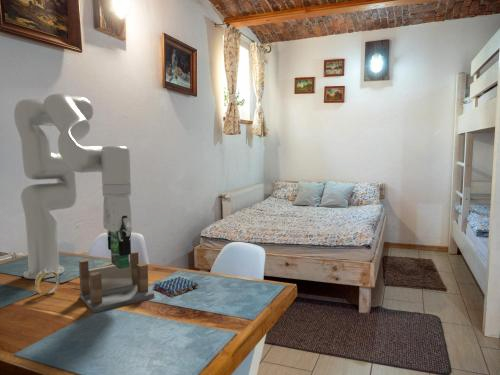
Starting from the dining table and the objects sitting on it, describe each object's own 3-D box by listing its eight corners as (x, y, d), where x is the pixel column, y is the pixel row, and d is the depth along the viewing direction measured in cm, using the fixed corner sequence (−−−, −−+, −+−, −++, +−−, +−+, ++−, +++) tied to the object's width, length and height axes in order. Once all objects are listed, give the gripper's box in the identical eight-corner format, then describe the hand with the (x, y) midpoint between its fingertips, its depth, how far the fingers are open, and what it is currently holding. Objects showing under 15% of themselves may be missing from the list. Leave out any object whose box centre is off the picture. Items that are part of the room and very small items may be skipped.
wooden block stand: (79, 297, 111) (77, 260, 110) (135, 284, 122) (134, 250, 121) (94, 312, 100) (92, 271, 99) (154, 297, 111) (153, 260, 110)
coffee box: (110, 263, 110) (108, 218, 109) (120, 261, 112) (118, 217, 111) (119, 269, 104) (117, 222, 102) (129, 267, 105) (128, 221, 104)
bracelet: (38, 298, 110) (37, 271, 110) (33, 296, 112) (32, 269, 112) (62, 291, 116) (61, 266, 115) (57, 289, 118) (56, 264, 117)
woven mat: (151, 290, 118) (151, 283, 118) (179, 281, 126) (179, 275, 126) (171, 298, 111) (171, 292, 111) (199, 289, 119) (199, 282, 119)
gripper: (93, 189, 110) (96, 248, 112) (114, 193, 97) (117, 260, 98) (119, 187, 115) (121, 244, 116) (142, 191, 101) (144, 255, 103)
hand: (119, 251), depth 107 cm, fingers closed on coffee box, 8 cm apart
